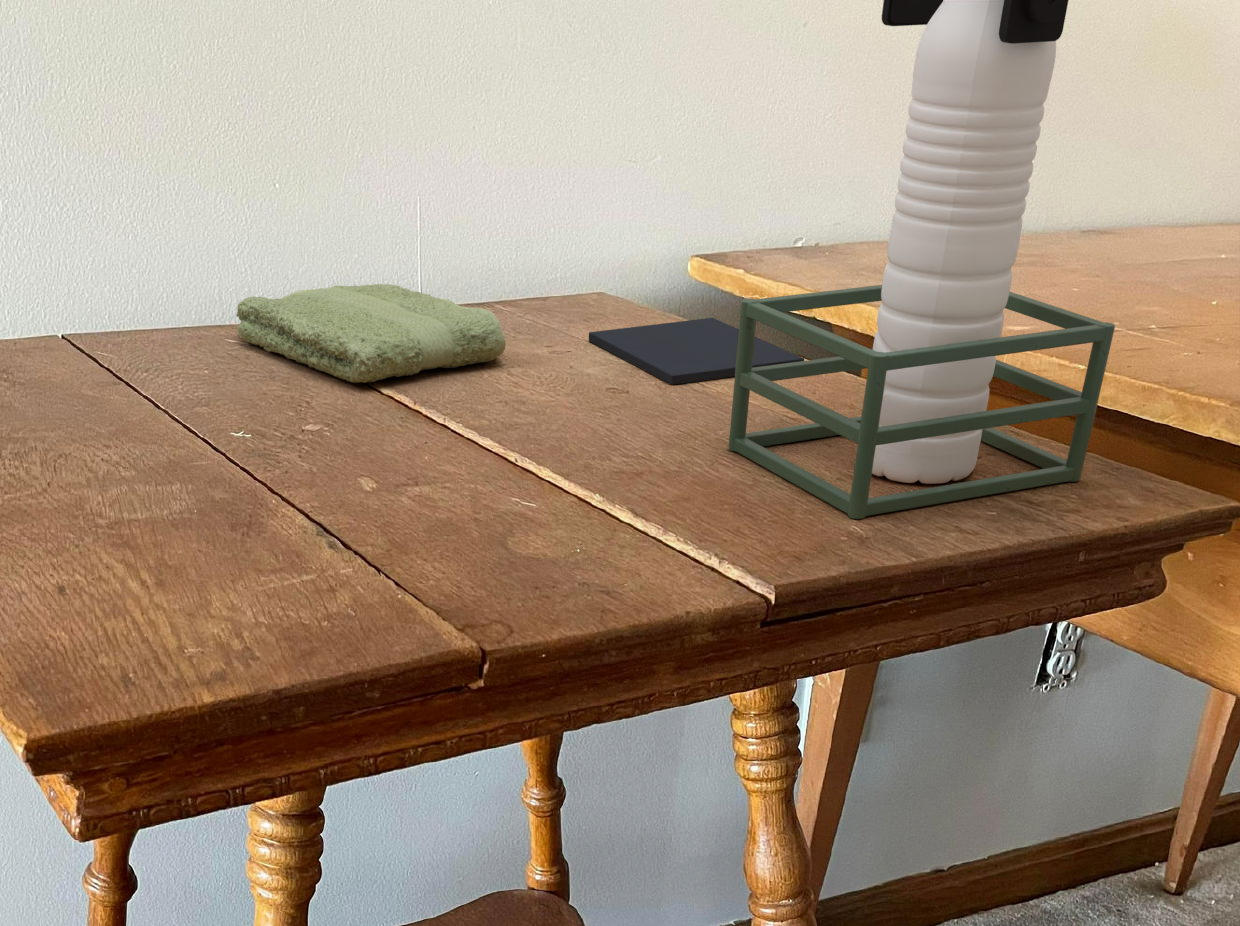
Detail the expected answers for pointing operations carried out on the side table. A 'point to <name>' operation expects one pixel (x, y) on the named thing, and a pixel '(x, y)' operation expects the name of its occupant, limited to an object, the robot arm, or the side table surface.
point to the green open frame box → (871, 434)
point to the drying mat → (687, 349)
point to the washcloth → (371, 331)
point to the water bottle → (956, 226)
